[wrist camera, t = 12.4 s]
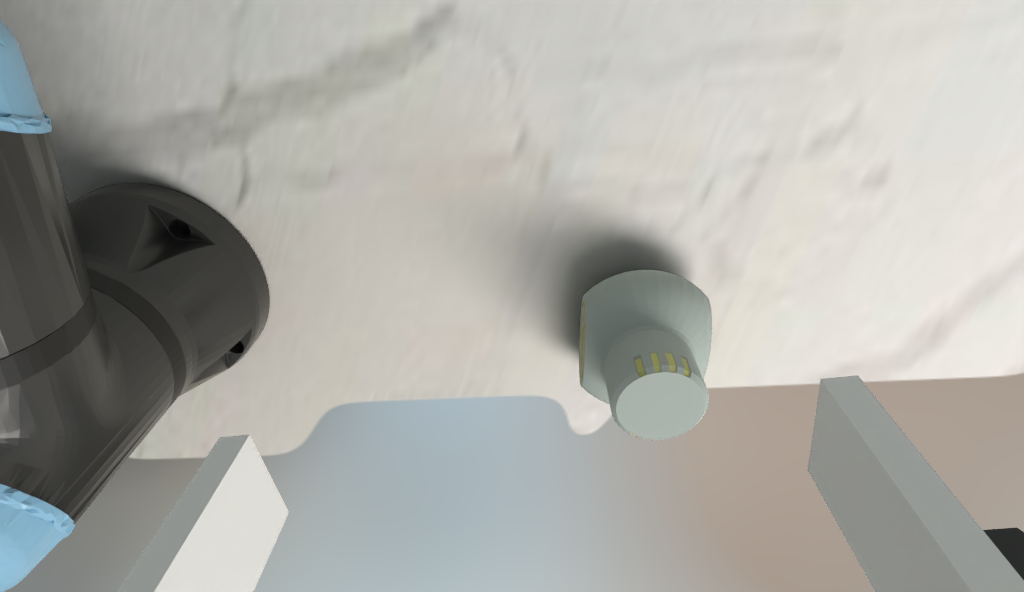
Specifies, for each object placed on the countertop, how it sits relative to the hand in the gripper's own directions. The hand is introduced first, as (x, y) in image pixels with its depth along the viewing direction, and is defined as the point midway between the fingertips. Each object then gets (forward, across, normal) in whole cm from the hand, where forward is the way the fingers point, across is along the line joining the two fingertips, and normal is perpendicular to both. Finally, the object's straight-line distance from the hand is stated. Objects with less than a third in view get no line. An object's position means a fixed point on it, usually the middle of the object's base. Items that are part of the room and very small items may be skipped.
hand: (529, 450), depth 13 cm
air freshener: (+27, +6, -14) cm, 31 cm away
